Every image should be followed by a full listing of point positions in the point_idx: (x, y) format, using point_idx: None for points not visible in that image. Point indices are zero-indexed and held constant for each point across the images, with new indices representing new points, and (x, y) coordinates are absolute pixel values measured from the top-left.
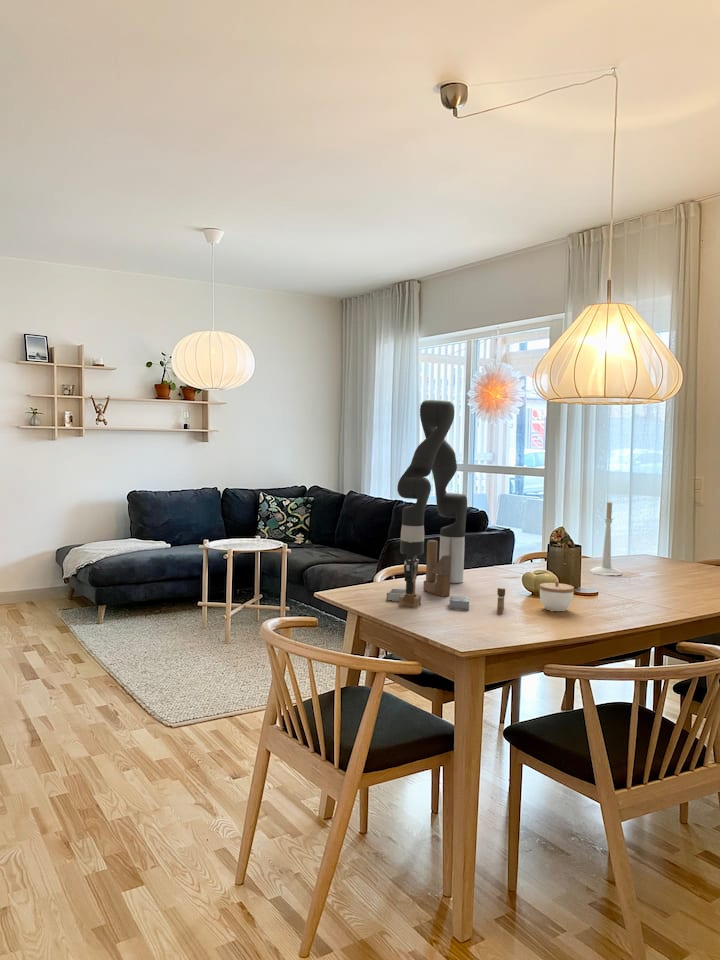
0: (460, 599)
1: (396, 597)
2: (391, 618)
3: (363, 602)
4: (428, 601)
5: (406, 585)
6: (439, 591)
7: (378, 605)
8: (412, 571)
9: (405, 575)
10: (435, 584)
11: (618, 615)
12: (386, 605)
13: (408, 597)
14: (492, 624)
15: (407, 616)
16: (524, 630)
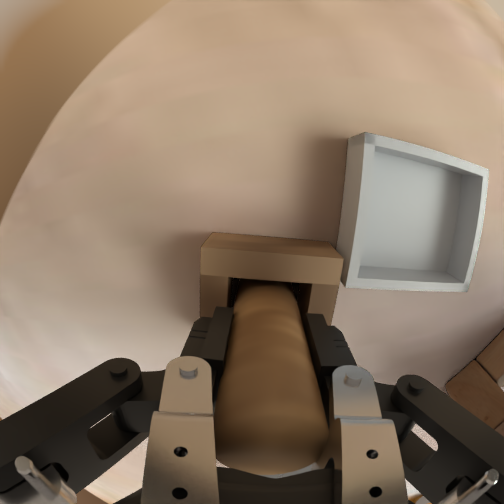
0: (273, 477)
1: (350, 204)
2: (7, 232)
3: (249, 22)
4: (370, 362)
5: (205, 339)
6: (463, 386)
7: (195, 108)
8: (86, 483)
9: (61, 399)
10: (498, 378)
11: None
12: (210, 153)
13: (203, 310)
14: (114, 471)
15: (48, 290)
16: (110, 489)
